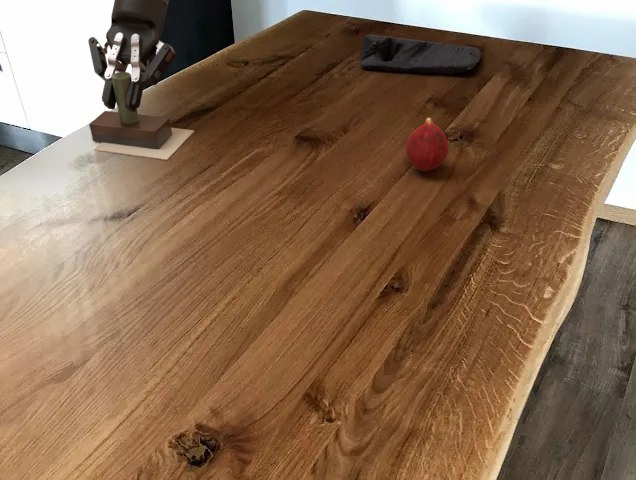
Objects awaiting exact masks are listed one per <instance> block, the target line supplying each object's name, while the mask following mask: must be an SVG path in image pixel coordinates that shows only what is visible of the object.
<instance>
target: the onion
mask: <svg viewBox="0 0 636 480" xmlns="http://www.w3.org/2000/svg"><path fill="white" fill-rule="evenodd" d="M405 152H406V156H407V158H408V160H409V161H410V163H411V164H412V165H413V166H414V167H415V169H417V170H419V171H421V172H423V173H427V172H429V171H431V170H434V169H437V168H438V167H440V165H441V164H443V162H444V161H445V160H446V159H447V156H448V153H449V143H448V138H447V136H446V134H445V132H444V131H443V130H442V129H441V128H440V127H439V126H438V125H436V124H435V123H434V121H433V119H432V118H431V117H426V119H425V122H424V124H421V125H420V126H418V127H417V128H416V129H415V130H413V131H412V132H411V133H410V134H409V137H408V138H407V141H406V146H405Z"/></svg>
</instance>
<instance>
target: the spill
mask: <svg viewBox="0 0 636 480" xmlns="http://www.w3.org/2000/svg"><path fill="white" fill-rule="evenodd" d="M171 129H172V135H171V136H170V137H169V138H168V140H167V141H166V142H165V143H164V144H163V145H162V146H161V147H160V148H159V149H156V148H148V147H139V146H131V145H122V144H113V143H105V142H99V144H98V145H97V146H96V147H94V148H93V150H94V151H96V152H103V153H111V154H117V155H126V156H130V157H132V156H133V157H138V158H146V159H154V160H160V161H169V160H170V158H171V157H172V156H173V155H174V154H175V153H176V152H177V151H178V150H179V149H180V148H181V147H182V146H183V145H184V143H185V142H186V141H187V140H188V139H189V138H190V137H191V136H192V135H193V134H194V133H195V130H193V129H185V128H179V127H171Z"/></svg>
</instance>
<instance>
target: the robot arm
mask: <svg viewBox="0 0 636 480" xmlns="http://www.w3.org/2000/svg"><path fill="white" fill-rule="evenodd" d="M169 2H170V0H114V1H113V5H112V11H111V14H110V15H111V16H110V17H111V18H110V19H111V21H110V22H111V23H110V24H111V25H110V27H109V28H108V30H107V32H106V34H105V36H102V37H100V38H95V36H91V37H89V38H88V46H89V47H88V48H89V51H90V56H91V60H92V61H91V62H92V65H93V72H94V74H96V75H97V76H98V77H99V78H101V80H103V81H104V85H103V89H102V94H101V102H102V103H103V105H104V106H105V107H106V108H107V109H108V110H115V109H116V106H117V103H116V98H115V94H114V89H113V84H112V79H111V76H112V75H113V74H115V73H118V72H127V69H128V67H129V65H130V66H131V79H132V82H129V87H128V92H127V96H126V101H125V107H126V108H127V109H128V110H129V111H132V112H135V111H136V108H137V109H139V107H140V106H141V102H142V98H143V93H144V92H143V91H144V89H145V88H146V87H148V86H153V87H155V86H157V85H158V84H159V82H160V80H161V79H162V78H163V76H164V75H165V73H166V72H167V70H168V69H169V68H170V66H171V64H172V63H173V61H174V60H175V58H176V57H177V53H176V51H175V50H174V48H173V47H172V46H171V45H170V44H169V43H167V42H166V43H164V42H163V40H162V37H161V36H162V33H163V31H164V25H165V21H166V17H167V11H168V8H169V7H168V6H169ZM108 47H109V48H110V52H109V55H108V58H107V57H106V55H107V54H108ZM154 55H155V56H154ZM153 56H154V58H153V59H152V61H151V62H150V59H151V58H152V57H153Z"/></svg>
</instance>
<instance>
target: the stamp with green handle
mask: <svg viewBox="0 0 636 480" xmlns="http://www.w3.org/2000/svg"><path fill="white" fill-rule="evenodd" d="M111 79H112V84H113V89H114V94H115V98H116V108H117V111H113V110H112V111H110V110H104V111H103V112H102V113H100V114H99V115H98V116H97V117H96V118H95V119H93V120H92V121H91V122H90V123H89V125H88V126H89V130H90V134H91V139H92V141H93V142H97V143H102V142H105V143H113V144H122V145H131V146H139V147H148V148H156V149H159V148H160V147H161V146H162V145H163V144H164V143H165V142H166V141H167V140H168V138H169V137H170V136H171V135H172V129H171V128H172V124H171V118H170V117H168V116H159V115H158V116H157V115H148V114H140V113H138V108H136V111H135V112H132V111H129V110H128V109H127V108H126V107H125V101H126V96H127V92H128V87H129V82H132V73H130V72H128V71H126V72H118V73H115V74H113V75H112V76H111Z"/></svg>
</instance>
